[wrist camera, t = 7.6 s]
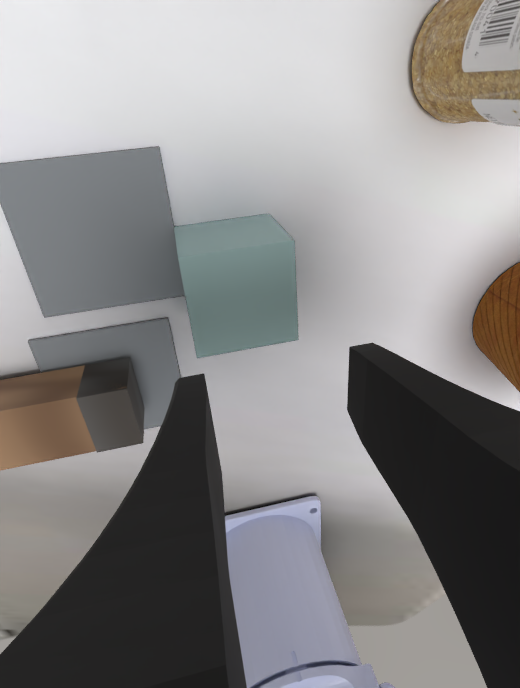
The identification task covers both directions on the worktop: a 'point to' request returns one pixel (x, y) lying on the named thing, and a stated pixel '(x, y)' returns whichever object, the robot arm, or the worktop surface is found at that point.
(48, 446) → the leg
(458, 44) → the sprinkles bottle
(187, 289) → the block
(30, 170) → the seat pad
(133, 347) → the foot pad
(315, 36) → the worktop surface
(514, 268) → the disposable coffee cup
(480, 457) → the robot arm
